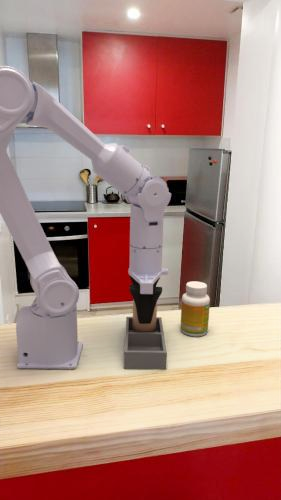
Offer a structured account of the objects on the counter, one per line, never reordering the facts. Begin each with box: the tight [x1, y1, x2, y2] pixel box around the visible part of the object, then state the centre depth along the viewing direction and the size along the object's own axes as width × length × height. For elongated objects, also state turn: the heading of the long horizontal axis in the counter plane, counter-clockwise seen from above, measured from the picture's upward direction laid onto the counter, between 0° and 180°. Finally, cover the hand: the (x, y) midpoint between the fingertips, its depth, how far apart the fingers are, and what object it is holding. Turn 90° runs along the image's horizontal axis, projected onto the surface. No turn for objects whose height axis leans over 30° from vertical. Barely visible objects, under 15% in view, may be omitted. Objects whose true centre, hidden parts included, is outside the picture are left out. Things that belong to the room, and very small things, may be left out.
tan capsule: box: [132, 299, 158, 332], centre depth 66 cm, size 4×4×7 cm
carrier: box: [123, 316, 168, 370], centre depth 64 cm, size 7×13×3 cm, turn 1°
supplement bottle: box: [179, 280, 211, 338], centre depth 70 cm, size 5×5×10 cm
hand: (144, 316), depth 66 cm, fingers closed on tan capsule, 4 cm apart
